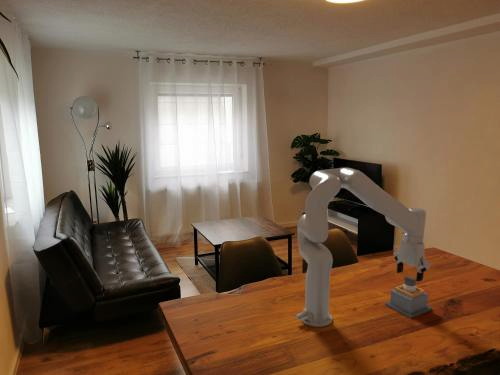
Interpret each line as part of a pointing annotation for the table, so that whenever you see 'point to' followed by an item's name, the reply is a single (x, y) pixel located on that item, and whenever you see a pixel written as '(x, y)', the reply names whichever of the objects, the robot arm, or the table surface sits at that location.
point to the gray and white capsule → (410, 285)
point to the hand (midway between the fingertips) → (409, 276)
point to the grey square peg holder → (409, 301)
